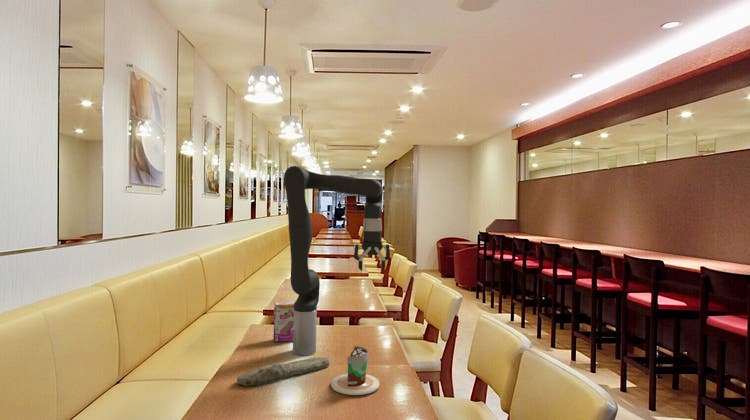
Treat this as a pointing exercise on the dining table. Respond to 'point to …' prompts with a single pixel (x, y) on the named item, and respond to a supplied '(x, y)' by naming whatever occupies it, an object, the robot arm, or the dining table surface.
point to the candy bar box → (283, 322)
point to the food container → (357, 366)
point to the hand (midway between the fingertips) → (371, 270)
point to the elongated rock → (281, 371)
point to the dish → (342, 386)
